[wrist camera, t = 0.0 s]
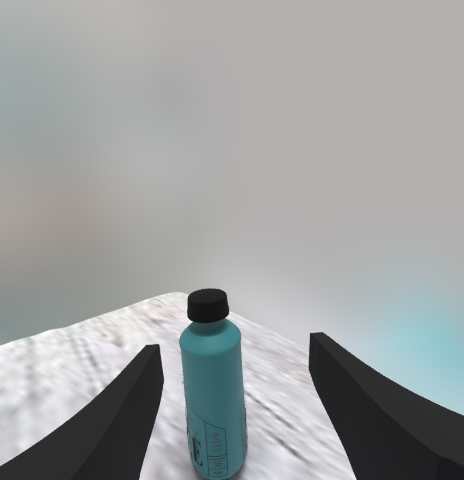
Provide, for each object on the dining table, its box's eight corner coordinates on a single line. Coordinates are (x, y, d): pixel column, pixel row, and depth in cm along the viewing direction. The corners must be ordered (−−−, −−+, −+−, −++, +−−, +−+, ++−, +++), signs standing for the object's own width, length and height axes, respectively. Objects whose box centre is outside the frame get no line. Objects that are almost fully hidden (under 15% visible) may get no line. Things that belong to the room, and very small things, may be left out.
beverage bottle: (259, 454, 29) (253, 287, 26) (224, 513, 24) (211, 313, 20) (215, 426, 33) (205, 278, 29) (176, 471, 28) (159, 297, 24)
